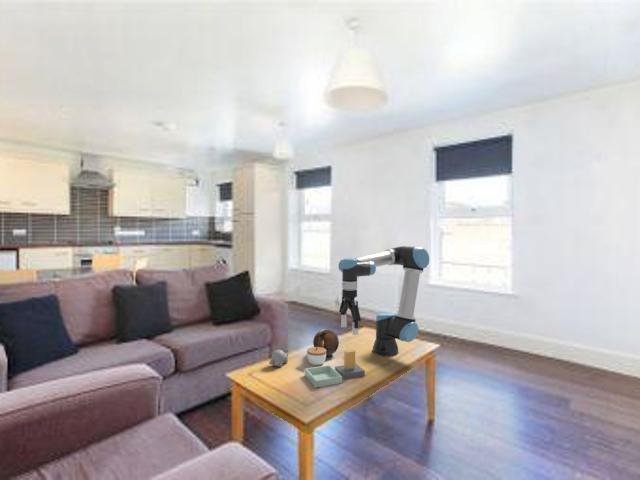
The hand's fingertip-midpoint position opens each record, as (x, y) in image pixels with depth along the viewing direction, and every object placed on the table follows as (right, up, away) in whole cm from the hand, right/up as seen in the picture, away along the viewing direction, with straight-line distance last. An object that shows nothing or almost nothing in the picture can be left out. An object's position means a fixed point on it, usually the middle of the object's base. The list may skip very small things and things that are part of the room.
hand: (349, 330), depth 184 cm
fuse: (0, -22, +1) cm, 22 cm away
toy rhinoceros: (-36, -22, +13) cm, 45 cm away
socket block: (0, -23, +1) cm, 23 cm away
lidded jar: (-17, -22, +15) cm, 31 cm away
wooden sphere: (-11, -22, +28) cm, 38 cm away
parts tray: (-13, -23, -6) cm, 27 cm away
